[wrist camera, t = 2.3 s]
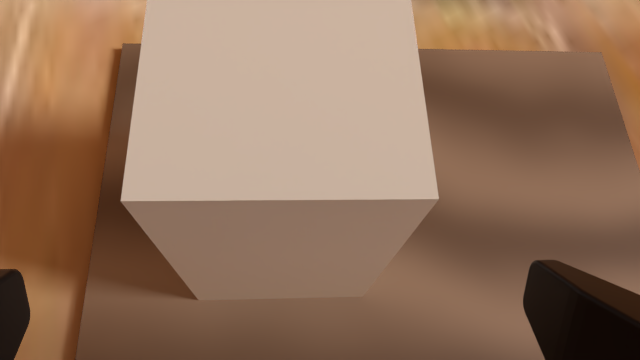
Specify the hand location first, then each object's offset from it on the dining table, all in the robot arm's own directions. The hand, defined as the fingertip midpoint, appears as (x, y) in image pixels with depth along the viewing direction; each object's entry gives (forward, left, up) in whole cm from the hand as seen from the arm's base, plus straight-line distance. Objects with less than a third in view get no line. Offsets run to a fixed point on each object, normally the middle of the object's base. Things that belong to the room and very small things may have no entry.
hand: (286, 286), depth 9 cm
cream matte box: (+3, +4, -11) cm, 12 cm away
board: (+7, +1, -11) cm, 13 cm away
